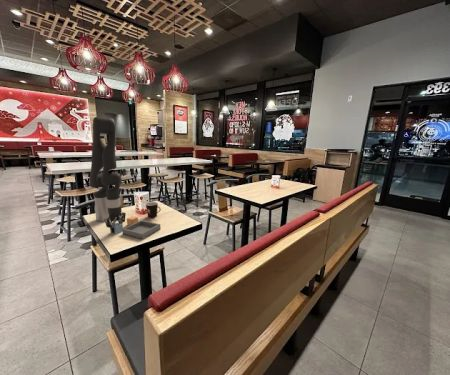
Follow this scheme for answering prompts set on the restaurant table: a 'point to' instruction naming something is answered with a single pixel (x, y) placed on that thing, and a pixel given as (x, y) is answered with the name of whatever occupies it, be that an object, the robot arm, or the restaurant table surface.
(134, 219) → the orange block
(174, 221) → the restaurant table surface
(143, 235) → the tray
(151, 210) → the coffee mug
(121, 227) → the blue block
